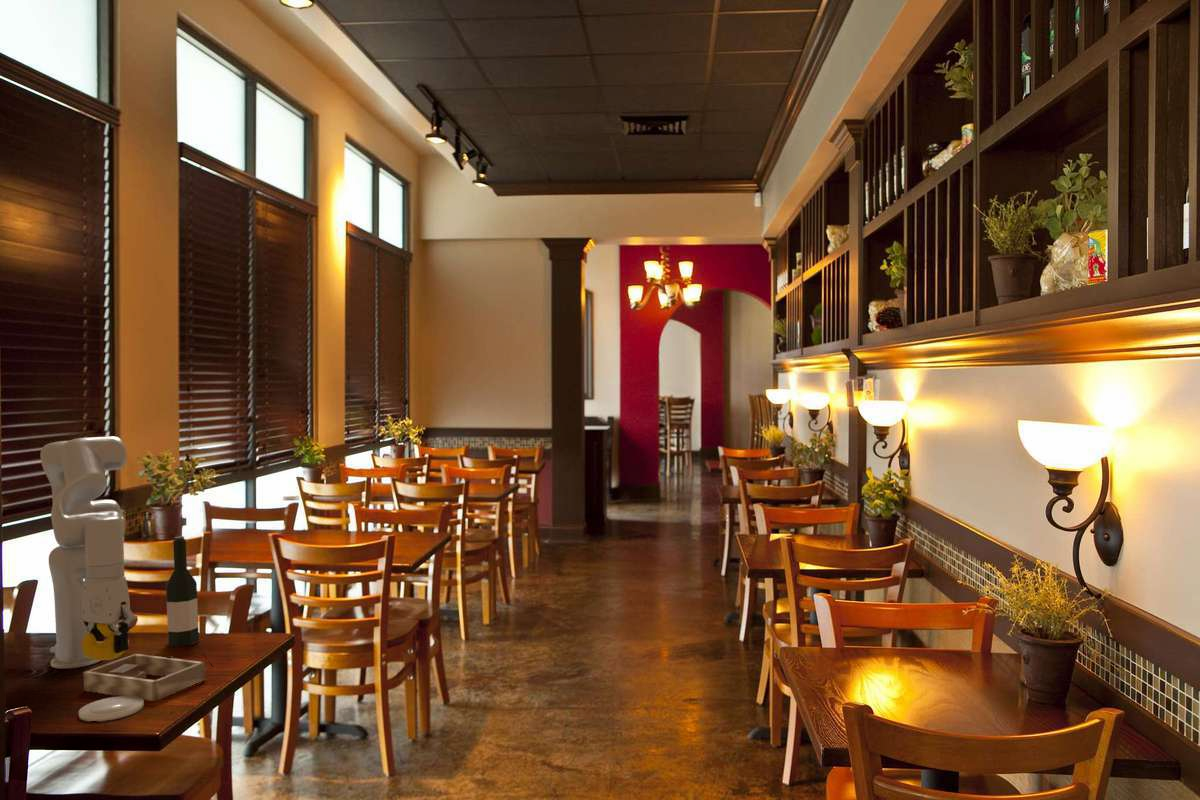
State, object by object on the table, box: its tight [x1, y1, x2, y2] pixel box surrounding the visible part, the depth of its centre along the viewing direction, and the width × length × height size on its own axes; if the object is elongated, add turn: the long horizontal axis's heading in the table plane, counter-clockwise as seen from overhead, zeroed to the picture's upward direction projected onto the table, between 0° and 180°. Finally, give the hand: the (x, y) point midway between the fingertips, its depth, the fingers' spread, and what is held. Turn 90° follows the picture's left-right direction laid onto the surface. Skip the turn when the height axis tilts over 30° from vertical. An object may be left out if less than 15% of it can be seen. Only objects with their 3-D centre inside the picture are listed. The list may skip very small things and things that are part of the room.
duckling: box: [82, 615, 139, 661], centre depth 207 cm, size 11×5×10 cm, turn 121°
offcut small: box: [108, 664, 140, 677], centre depth 226 cm, size 4×6×2 cm, turn 170°
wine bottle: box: [165, 535, 200, 647], centre depth 259 cm, size 8×8×30 cm
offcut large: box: [132, 671, 148, 679], centre depth 226 cm, size 5×9×2 cm, turn 161°
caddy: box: [82, 653, 206, 702], centre depth 224 cm, size 23×15×4 cm, turn 68°
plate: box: [78, 696, 145, 722], centre depth 207 cm, size 13×13×1 cm
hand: (109, 649), depth 207 cm, fingers closed on duckling, 6 cm apart
